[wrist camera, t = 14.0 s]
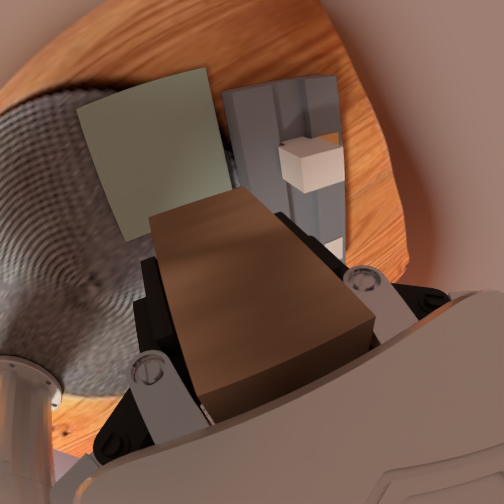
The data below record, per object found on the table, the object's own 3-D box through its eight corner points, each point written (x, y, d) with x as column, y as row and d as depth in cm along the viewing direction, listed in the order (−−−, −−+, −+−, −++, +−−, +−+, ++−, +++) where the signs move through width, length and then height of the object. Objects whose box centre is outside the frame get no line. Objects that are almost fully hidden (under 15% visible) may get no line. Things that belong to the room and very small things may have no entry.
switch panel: (263, 295, 38) (274, 311, 36) (220, 91, 24) (231, 92, 22) (331, 265, 40) (345, 278, 38) (317, 74, 26) (336, 75, 24)
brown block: (176, 293, 14) (293, 565, 5) (148, 217, 12) (285, 589, 2) (257, 263, 15) (424, 492, 5) (243, 186, 12) (495, 450, 3)
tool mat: (125, 239, 28) (125, 242, 27) (77, 108, 20) (75, 109, 20) (233, 199, 30) (235, 201, 30) (203, 67, 22) (205, 66, 22)
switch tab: (276, 174, 28) (304, 193, 24) (271, 144, 26) (300, 158, 22) (313, 163, 29) (344, 180, 25) (310, 134, 27) (343, 146, 23)
